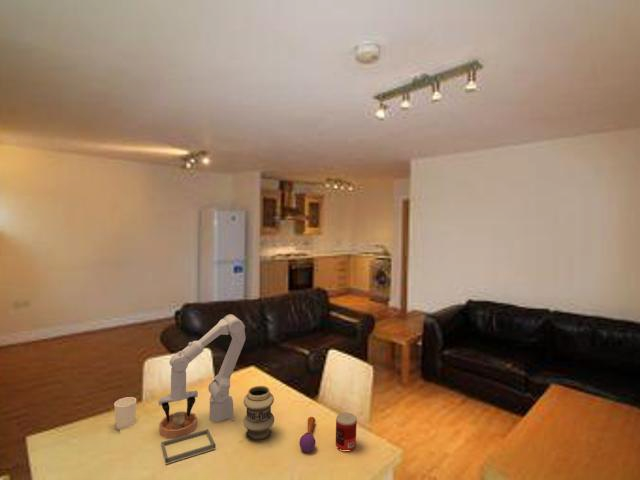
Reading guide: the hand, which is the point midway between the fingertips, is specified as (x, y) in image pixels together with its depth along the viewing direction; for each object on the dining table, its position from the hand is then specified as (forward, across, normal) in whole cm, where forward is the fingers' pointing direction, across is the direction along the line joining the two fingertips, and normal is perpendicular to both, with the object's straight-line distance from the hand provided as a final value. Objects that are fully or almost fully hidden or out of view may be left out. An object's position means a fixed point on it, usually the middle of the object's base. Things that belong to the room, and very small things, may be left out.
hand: (178, 417), depth 143 cm
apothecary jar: (+5, -27, +18) cm, 33 cm away
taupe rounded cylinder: (+4, 0, 0) cm, 4 cm away
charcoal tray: (+5, -1, +14) cm, 15 cm away
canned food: (+5, -53, +41) cm, 67 cm away
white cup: (+6, +18, -14) cm, 23 cm away
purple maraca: (+5, -43, +30) cm, 53 cm away
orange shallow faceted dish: (+5, 0, 0) cm, 5 cm away
